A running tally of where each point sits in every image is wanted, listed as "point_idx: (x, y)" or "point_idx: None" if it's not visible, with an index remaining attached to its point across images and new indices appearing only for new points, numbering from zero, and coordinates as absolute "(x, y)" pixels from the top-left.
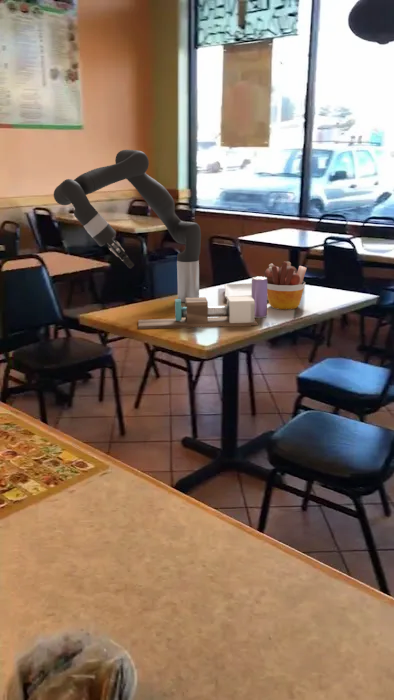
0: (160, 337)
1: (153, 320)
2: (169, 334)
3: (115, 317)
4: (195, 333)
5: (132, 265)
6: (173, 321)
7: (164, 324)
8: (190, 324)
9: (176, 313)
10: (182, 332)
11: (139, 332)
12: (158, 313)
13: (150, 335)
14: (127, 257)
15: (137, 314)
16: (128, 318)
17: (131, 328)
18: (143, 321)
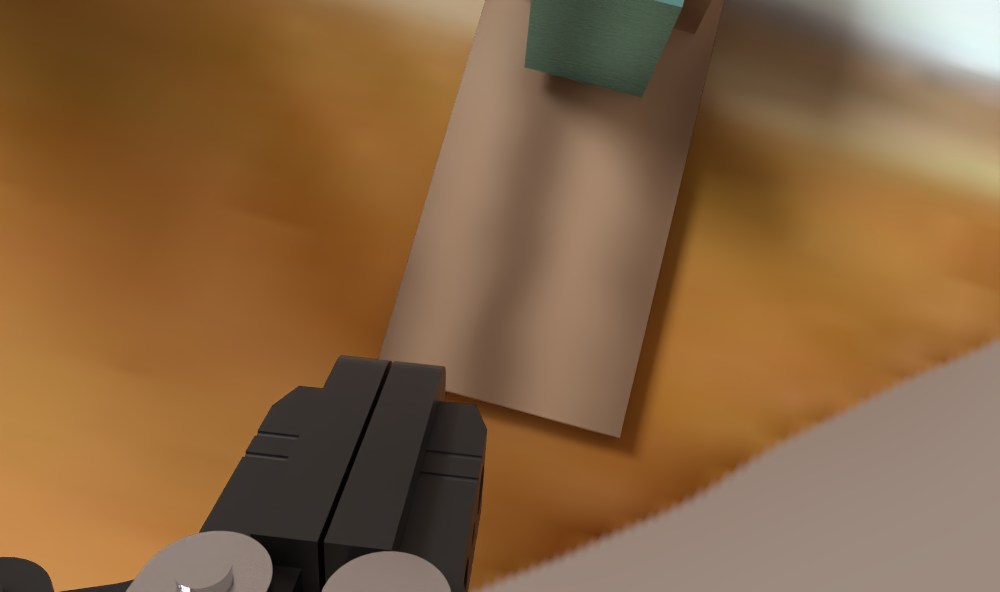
0: (949, 339)
1: (461, 253)
2: (878, 244)
3: (93, 536)
4: (906, 52)
5: (442, 416)
6: (563, 106)
7: (639, 206)
8: (714, 12)
9: (657, 61)
10: (847, 132)
11: (737, 461)
12: (120, 118)
13: (864, 398)
14: (339, 557)
15: (69, 304)
16: (190, 425)
17: (575, 493)
18: (462, 347)
